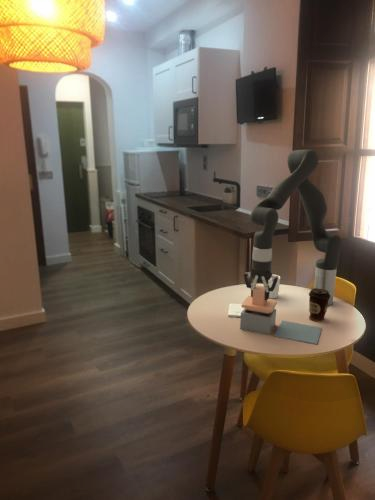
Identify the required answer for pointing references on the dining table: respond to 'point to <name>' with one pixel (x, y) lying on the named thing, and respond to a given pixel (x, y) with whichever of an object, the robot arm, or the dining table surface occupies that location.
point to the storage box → (258, 321)
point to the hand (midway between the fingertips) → (259, 298)
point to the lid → (259, 301)
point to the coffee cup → (318, 304)
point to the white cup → (275, 292)
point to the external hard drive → (235, 310)
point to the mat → (298, 332)
